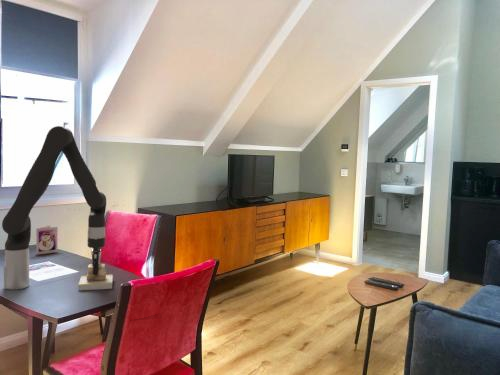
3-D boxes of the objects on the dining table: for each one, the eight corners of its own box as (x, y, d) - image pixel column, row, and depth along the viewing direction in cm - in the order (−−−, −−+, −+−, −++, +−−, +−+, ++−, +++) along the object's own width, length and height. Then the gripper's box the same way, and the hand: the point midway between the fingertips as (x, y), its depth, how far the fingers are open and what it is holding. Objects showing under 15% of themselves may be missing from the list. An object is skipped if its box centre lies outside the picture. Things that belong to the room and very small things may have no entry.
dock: (78, 290, 179) (78, 284, 179) (81, 281, 191) (81, 276, 191) (112, 288, 184) (112, 282, 183) (112, 280, 195) (112, 274, 195)
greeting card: (36, 254, 234) (36, 229, 233) (33, 252, 239) (33, 227, 238) (57, 252, 242) (57, 227, 240) (53, 249, 247) (53, 225, 246)
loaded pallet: (86, 280, 183) (86, 267, 183) (87, 277, 188) (87, 264, 188) (105, 279, 186) (105, 266, 185) (105, 276, 191) (106, 263, 190)
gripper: (88, 233, 191) (88, 268, 192) (86, 239, 177) (85, 278, 179) (105, 232, 193) (105, 268, 195) (104, 239, 179) (104, 277, 181)
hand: (96, 272), depth 187 cm, fingers closed on loaded pallet, 5 cm apart
